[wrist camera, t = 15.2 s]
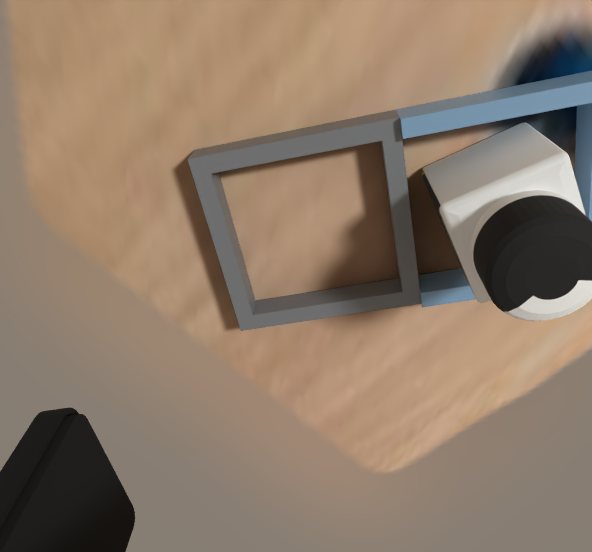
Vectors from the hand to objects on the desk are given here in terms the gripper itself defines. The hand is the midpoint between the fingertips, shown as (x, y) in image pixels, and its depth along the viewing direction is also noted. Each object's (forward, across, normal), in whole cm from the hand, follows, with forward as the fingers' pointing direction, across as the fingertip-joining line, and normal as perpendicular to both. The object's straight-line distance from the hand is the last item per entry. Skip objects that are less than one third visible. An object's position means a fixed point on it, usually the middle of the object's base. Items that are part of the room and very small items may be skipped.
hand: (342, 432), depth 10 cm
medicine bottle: (+28, -10, +8) cm, 31 cm away
